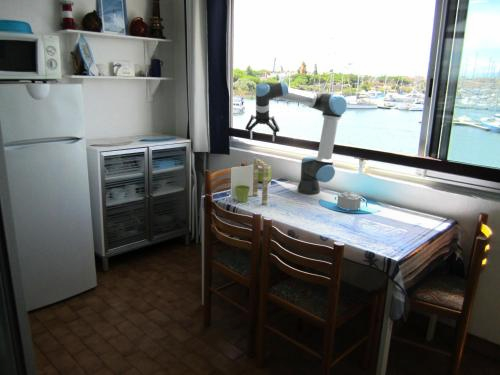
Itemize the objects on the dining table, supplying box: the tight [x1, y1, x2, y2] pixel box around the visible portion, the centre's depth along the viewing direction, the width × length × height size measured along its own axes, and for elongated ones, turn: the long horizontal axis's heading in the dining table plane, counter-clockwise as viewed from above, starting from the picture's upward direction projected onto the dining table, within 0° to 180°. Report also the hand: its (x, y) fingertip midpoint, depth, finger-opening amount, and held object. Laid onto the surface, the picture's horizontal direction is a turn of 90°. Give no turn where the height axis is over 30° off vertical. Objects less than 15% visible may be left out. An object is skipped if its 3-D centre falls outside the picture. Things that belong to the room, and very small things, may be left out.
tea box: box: [248, 163, 273, 190], centre depth 278 cm, size 15×10×15 cm, turn 73°
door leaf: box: [230, 165, 254, 199], centre depth 252 cm, size 15×3×19 cm, turn 117°
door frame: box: [253, 157, 269, 206], centre depth 248 cm, size 21×2×24 cm, turn 17°
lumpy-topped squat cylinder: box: [336, 191, 362, 211], centre depth 240 cm, size 10×13×9 cm
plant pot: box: [235, 185, 250, 203], centre depth 247 cm, size 9×9×9 cm
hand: (262, 139), depth 247 cm, fingers open, 13 cm apart
